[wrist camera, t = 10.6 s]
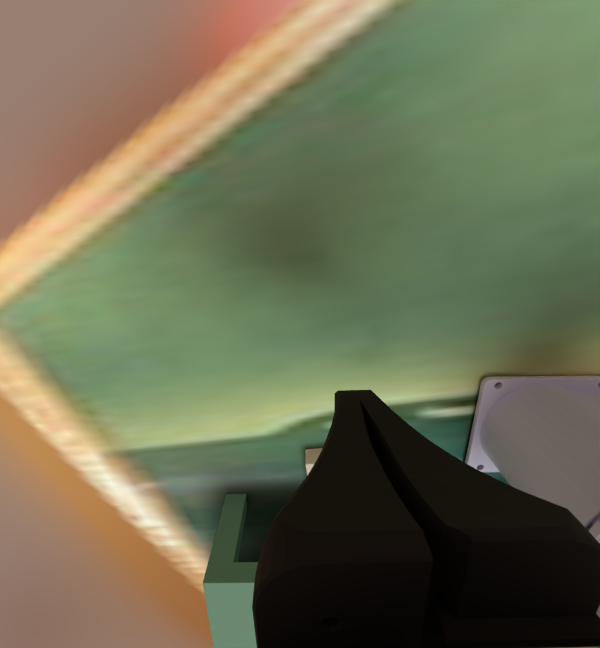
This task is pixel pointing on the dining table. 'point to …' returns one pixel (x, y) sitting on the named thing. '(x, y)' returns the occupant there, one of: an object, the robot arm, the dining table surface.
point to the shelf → (230, 580)
